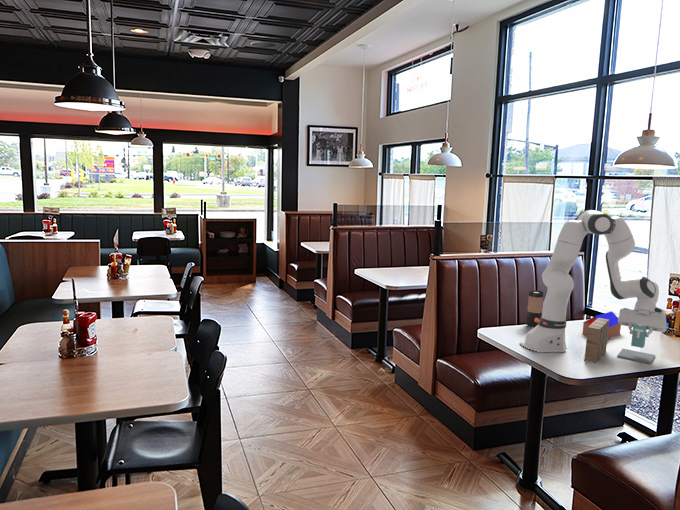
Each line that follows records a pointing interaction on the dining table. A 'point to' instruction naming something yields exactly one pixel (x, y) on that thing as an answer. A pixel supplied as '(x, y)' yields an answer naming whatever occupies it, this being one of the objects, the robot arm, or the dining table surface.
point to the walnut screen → (596, 340)
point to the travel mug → (534, 307)
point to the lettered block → (638, 335)
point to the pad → (636, 356)
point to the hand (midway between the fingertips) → (638, 335)
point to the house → (613, 323)
